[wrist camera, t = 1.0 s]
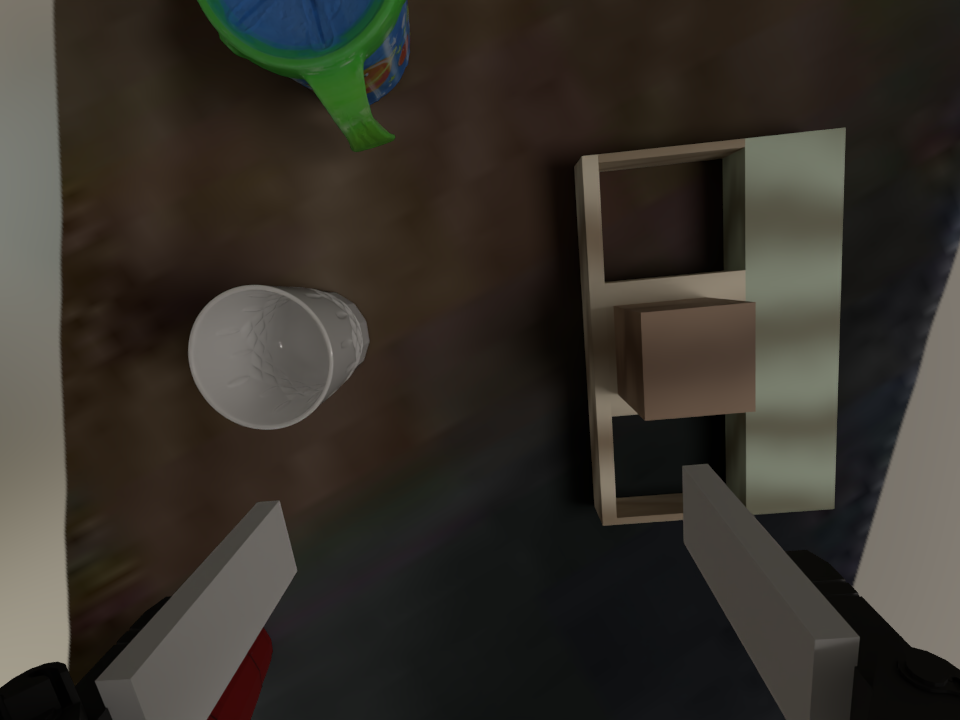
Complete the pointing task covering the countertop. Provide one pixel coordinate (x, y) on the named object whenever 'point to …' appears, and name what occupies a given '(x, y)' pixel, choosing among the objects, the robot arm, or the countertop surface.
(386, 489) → the countertop surface
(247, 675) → the plastic cup
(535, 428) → the countertop surface
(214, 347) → the white cup
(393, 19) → the snack cup
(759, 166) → the frame
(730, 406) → the walnut block
